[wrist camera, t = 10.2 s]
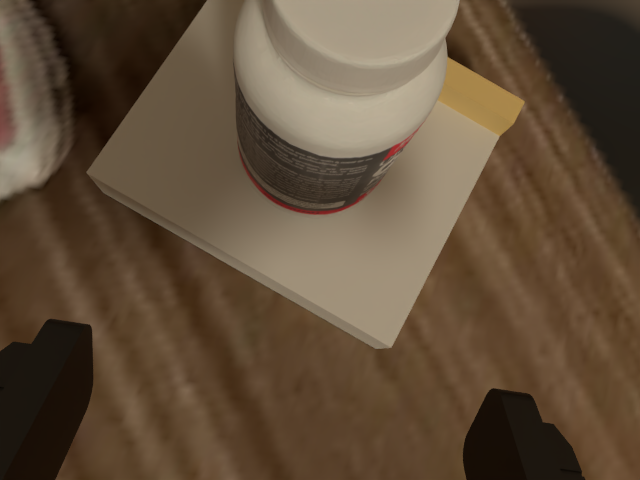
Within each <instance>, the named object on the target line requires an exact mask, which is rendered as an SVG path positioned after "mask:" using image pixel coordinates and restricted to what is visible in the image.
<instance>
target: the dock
mask: <svg viewBox="0 0 640 480" xmlns="http://www.w3.org/2000/svg"><path fill="white" fill-rule="evenodd" d="M243 2H244V0H207V1H206V3H205V4H204V6H203V7H202V9H201V10H200V11H199V13H198V14H197V16H196V17H195V18H194V20H193V21H192V23H191V24H190V26H189V27H188V28H187V30H186V31H185V33H184V34H183V36H182V37H181V38H180V40H179V41H178V43H177V44H176V46H175V47H174V48H173V50H172V51H171V53H170V54H169V55H168V57H167V58H166V60H165V61H164V63H163V64H162V65H161V67H160V68H159V70H158V71H157V73H156V74H155V75H154V77H153V78H152V80H151V81H150V83H149V84H148V85H147V87H146V88H145V90H144V91H143V92H142V94H141V95H140V97H139V98H138V100H137V101H136V102H135V104H134V105H133V107H132V108H131V110H130V111H129V112H128V114H127V115H126V117H125V118H124V120H123V121H122V122H121V124H120V125H119V127H118V128H117V129H116V131H115V132H114V134H113V135H112V137H111V138H110V139H109V141H108V142H107V144H106V145H105V147H104V148H103V149H102V151H101V152H100V154H99V155H98V157H97V158H96V159H95V161H94V162H93V164H92V165H91V166H90V168H89V169H88V171H87V172H86V173H87V174H88V176H89V177H90V178H91V179H92V180H93V181H94V182H95V184H96V185H97V186H98V187H99V188H100V189H101V191H102V192H103V193H104V194H106V195H108V196H110V197H111V198H113V199H115V200H117V201H118V202H120V203H122V204H124V205H125V206H127V207H129V208H131V209H132V210H134V211H136V212H138V213H139V214H141V215H143V216H145V217H146V218H148V219H150V220H152V221H153V222H155V223H157V224H159V225H160V226H162V227H164V228H166V229H167V230H169V231H171V232H173V233H174V234H176V235H178V236H180V237H181V238H183V239H185V240H187V241H188V242H190V243H192V244H194V245H195V246H197V247H199V248H201V249H202V250H204V251H206V252H208V253H209V254H211V255H213V256H215V257H216V258H218V259H220V260H222V261H223V262H225V263H227V264H229V265H230V266H232V267H234V268H236V269H237V270H239V271H241V272H242V273H244V274H246V275H248V276H249V277H251V278H253V279H255V280H256V281H258V282H260V283H262V284H263V285H265V286H267V287H269V288H270V289H272V290H274V291H276V292H277V293H279V294H281V295H283V296H284V297H286V298H288V299H290V300H291V301H293V302H295V303H297V304H298V305H300V306H302V307H304V308H305V309H307V310H309V311H311V312H312V313H314V314H316V315H318V316H319V317H321V318H323V319H325V320H326V321H328V322H330V323H332V324H333V325H335V326H337V327H339V328H340V329H342V330H344V331H346V332H347V333H349V334H351V335H353V336H354V337H356V338H358V339H360V340H361V341H363V342H365V343H367V344H368V345H370V346H372V347H374V348H375V349H379V348H391V347H392V345H393V343H394V341H395V339H396V337H397V336H398V334H399V332H400V330H401V328H402V326H403V324H404V322H405V320H406V318H407V316H408V314H409V312H410V310H411V308H412V306H413V304H414V302H415V300H416V298H417V296H418V295H419V293H420V291H421V289H422V287H423V285H424V283H425V281H426V279H427V277H428V275H429V273H430V271H431V269H432V267H433V265H434V263H435V261H436V259H437V257H438V255H439V254H440V252H441V250H442V248H443V246H444V244H445V242H446V240H447V238H448V236H449V234H450V232H451V230H452V228H453V226H454V224H455V222H456V220H457V218H458V216H459V214H460V213H461V211H462V209H463V207H464V205H465V203H466V201H467V199H468V197H469V195H470V193H471V191H472V189H473V187H474V185H475V183H476V181H477V179H478V177H479V175H480V173H481V172H482V170H483V168H484V166H485V164H486V162H487V160H488V158H489V156H490V154H491V152H492V150H493V148H494V146H495V144H496V142H497V140H498V138H499V136H500V135H501V134H503V133H504V132H505V131H506V130H507V129H508V128H509V127H511V126H512V125H513V124H514V122H515V120H516V118H517V116H518V114H519V112H520V110H521V108H522V106H523V104H524V102H525V101H523V100H521V99H520V98H518V97H516V96H514V95H513V94H511V93H509V92H507V91H506V90H504V89H502V88H501V87H499V86H497V85H495V84H494V83H492V82H490V81H488V80H487V79H485V78H483V77H481V76H480V75H478V74H476V73H475V72H473V71H471V70H469V69H468V68H466V67H464V66H462V65H461V64H459V63H457V62H455V61H454V60H452V59H450V58H449V57H447V69H446V76H445V81H444V84H443V88H442V91H441V93H440V96H439V98H438V100H437V102H436V104H435V105H434V107H433V109H432V111H431V113H430V114H429V116H428V117H427V119H426V120H425V122H424V123H423V124H422V125H421V127H420V128H419V130H418V131H417V132H416V133H415V135H414V136H413V137H412V139H411V140H410V142H409V143H408V144H407V145H406V146H405V148H404V149H403V151H402V152H401V153H400V155H399V156H398V157H397V159H396V160H395V162H394V163H393V164H392V166H391V167H390V169H389V170H388V171H387V173H386V174H385V176H384V177H383V178H382V180H381V181H380V182H379V184H378V185H377V186H376V188H375V189H374V190H373V191H372V192H371V193H370V194H369V195H368V196H367V197H366V198H365V199H364V200H363V201H362V202H361V203H359V204H358V205H356V206H355V207H354V208H352V209H350V210H348V211H346V212H343V213H341V214H338V215H335V216H330V217H322V218H308V217H301V216H296V215H293V214H290V213H287V212H284V211H282V210H280V209H278V208H277V207H275V206H273V205H272V204H270V203H269V202H267V201H266V200H265V199H264V198H263V197H262V196H261V195H260V194H259V193H258V192H257V191H256V190H255V188H254V187H253V186H252V185H251V183H250V182H249V180H248V178H247V176H246V174H245V172H244V170H243V168H242V165H241V161H240V157H239V152H238V143H237V126H236V106H235V104H236V92H235V78H234V67H233V37H234V30H235V25H236V21H237V17H238V14H239V12H240V9H241V7H242V5H243Z"/></svg>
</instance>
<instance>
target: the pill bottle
mask: <svg viewBox="0 0 640 480" xmlns="http://www.w3.org/2000/svg"><path fill="white" fill-rule="evenodd" d="M458 6H459V0H244V2H243V5H242V7H241V9H240V12H239V14H238V17H237V21H236V25H235V30H234V37H233V67H234V78H235V92H236V104H235V106H236V126H237V143H238V152H239V157H240V161H241V165H242V168H243V170H244V172H245V174H246V176H247V178H248V180H249V182H250V183H251V185H252V186H253V187H254V188H255V190H256V191H257V192H258V193H259V194H260V195H261V196H262V197H263V198H264V199H265V200H266V201H267V202H269V203H270V204H272V205H273V206H275V207H277V208H278V209H280V210H282V211H284V212H287V213H290V214H293V215H296V216H301V217H308V218H322V217H330V216H335V215H338V214H341V213H343V212H346V211H348V210H350V209H352V208H354V207H355V206H356V205H358V204H359V203H361V202H362V201H363V200H364V199H365V198H366V197H367V196H368V195H369V194H370V193H371V192H372V191H373V190H374V189H375V188H376V186H377V185H378V184H379V182H380V181H381V180H382V178H383V177H384V176H385V174H386V173H387V171H388V170H389V169H390V167H391V166H392V164H393V163H394V162H395V160H396V159H397V157H398V156H399V155H400V153H401V152H402V151H403V149H404V148H405V146H406V145H407V144H408V143H409V142H410V140H411V139H412V137H413V136H414V135H415V133H416V132H417V131H418V130H419V128H420V127H421V125H422V124H423V123H424V122H425V120H426V119H427V117H428V116H429V114H430V113H431V111H432V109H433V107H434V105H435V104H436V102H437V100H438V98H439V96H440V93H441V91H442V88H443V84H444V81H445V76H446V69H447V45H446V39H445V37H446V36H447V34H448V32H449V30H450V28H451V26H452V24H453V22H454V19H455V17H456V14H457V10H458Z"/></svg>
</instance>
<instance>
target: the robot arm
mask: <svg viewBox="0 0 640 480" xmlns="http://www.w3.org/2000/svg"><path fill="white" fill-rule="evenodd" d="M92 387H93V348H92V328H91V326H90V325H88V324H81V323H75V322H68V321H62V320H55V319H49V320H47V321H46V322H45V324H44V325H43V327H42V328H41V330H40V331H39V333H38V335H37V336H36V338H35V339H34V341H33V342H32V344H26V343H20V342H12V343H11V344H10V345H8V346H7V347H5V348H4V349H3V350H1V351H0V480H55V479H56V477H57V474H58V472H59V470H60V468H61V466H62V463H63V461H64V459H65V457H66V455H67V452H68V450H69V448H70V446H71V443H72V441H73V439H74V437H75V435H76V432H77V430H78V428H79V426H80V424H81V421H82V419H83V417H84V415H85V412H86V410H87V407H88V404H89V401H90V397H91V393H92ZM463 464H464V470H465V474H466V479H467V480H585V478H584V477H582V475H581V474H582V471H581V468H580V466H579V463H578V461H577V458H576V456H575V453H574V451H573V448H572V447H571V445H570V444H569V443H568V442H567V440H566V439H565V438H564V437H563V435H562V434H561V433H560V432H559V430H558V429H557V428H556V427H555V425H554V424H550V423H544V422H542V419H541V416H540V414H539V411H538V408H537V406H536V403H535V401H534V399H533V397H532V396H531V395H530V394H527V393H521V392H514V391H508V390H501V389H494V388H493V389H491V390H490V391H489V392H488V393H487V395H486V397H485V399H484V401H483V403H482V405H481V407H480V409H479V411H478V413H477V415H476V417H475V419H474V421H473V423H472V425H471V427H470V429H469V431H468V433H467V435H466V438H465V442H464V448H463Z"/></svg>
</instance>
